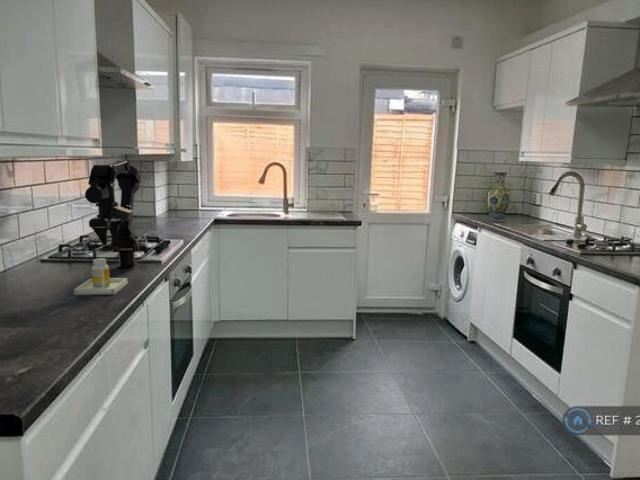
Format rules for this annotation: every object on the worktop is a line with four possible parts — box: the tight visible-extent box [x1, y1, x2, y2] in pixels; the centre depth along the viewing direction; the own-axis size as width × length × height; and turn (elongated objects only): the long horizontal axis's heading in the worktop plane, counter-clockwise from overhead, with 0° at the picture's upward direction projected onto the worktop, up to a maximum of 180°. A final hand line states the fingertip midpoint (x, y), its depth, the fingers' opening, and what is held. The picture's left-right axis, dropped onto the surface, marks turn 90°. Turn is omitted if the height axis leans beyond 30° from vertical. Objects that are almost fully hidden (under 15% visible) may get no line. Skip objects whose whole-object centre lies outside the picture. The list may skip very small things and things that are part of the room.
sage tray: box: [73, 277, 129, 296], centre depth 164 cm, size 13×13×2 cm
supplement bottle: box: [91, 257, 111, 289], centre depth 163 cm, size 5×5×10 cm
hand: (110, 242), depth 176 cm, fingers open, 9 cm apart
